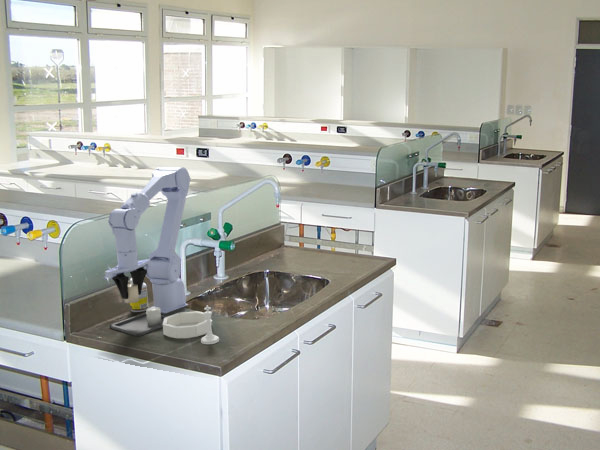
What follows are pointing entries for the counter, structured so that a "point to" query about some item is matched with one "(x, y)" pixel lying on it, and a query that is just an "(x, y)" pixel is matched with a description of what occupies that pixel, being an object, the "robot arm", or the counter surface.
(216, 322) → the counter surface
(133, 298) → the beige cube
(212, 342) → the chess piece
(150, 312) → the pebble grey
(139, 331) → the tray
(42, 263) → the counter surface
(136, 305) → the supplement bottle
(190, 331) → the bowl
